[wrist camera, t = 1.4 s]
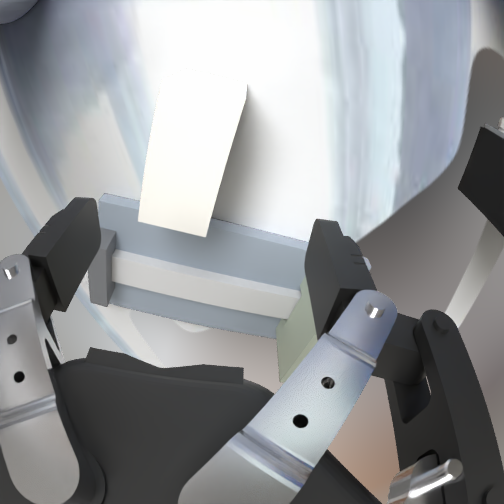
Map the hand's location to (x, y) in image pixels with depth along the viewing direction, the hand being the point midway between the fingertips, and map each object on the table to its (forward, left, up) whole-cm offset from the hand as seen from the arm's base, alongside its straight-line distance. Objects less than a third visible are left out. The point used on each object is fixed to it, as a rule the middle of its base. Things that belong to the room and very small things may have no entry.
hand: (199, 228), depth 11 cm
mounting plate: (+4, -17, -17) cm, 24 cm away
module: (-2, -2, -17) cm, 17 cm away
